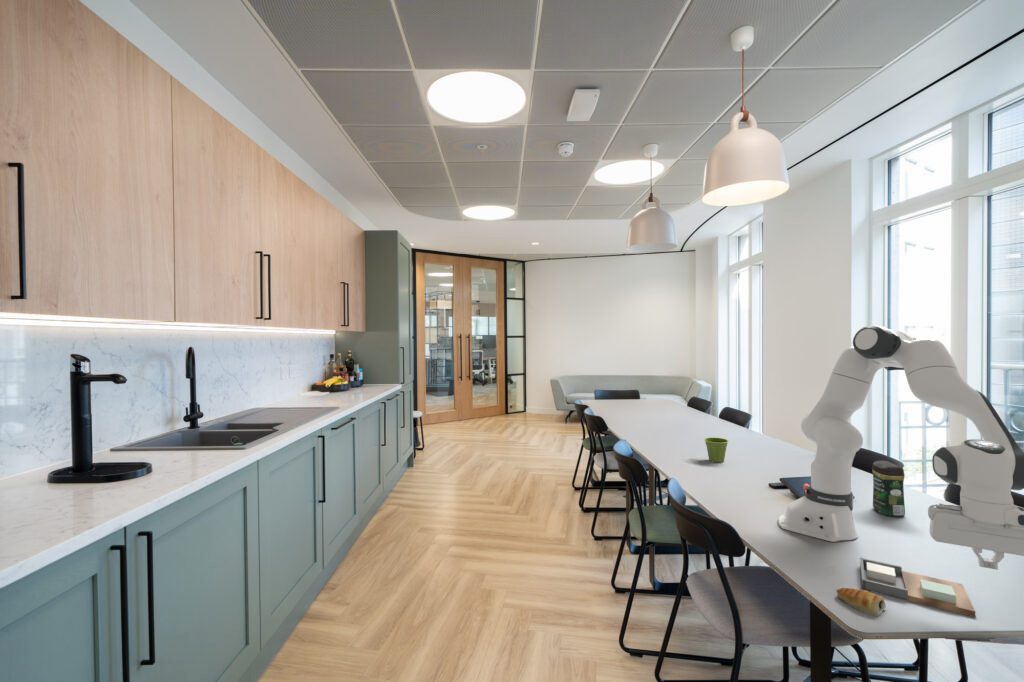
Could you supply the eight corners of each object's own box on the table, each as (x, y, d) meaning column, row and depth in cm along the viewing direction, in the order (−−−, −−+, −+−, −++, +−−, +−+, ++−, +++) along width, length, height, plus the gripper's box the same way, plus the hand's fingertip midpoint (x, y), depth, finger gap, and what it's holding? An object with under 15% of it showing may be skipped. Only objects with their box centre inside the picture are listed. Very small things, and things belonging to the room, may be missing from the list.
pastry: (832, 600, 114) (832, 585, 114) (842, 591, 118) (842, 577, 118) (878, 619, 106) (878, 603, 106) (887, 608, 110) (887, 593, 110)
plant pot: (701, 461, 237) (701, 440, 237) (708, 456, 246) (708, 436, 246) (725, 465, 229) (725, 443, 229) (731, 460, 238) (731, 439, 238)
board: (907, 600, 113) (907, 595, 113) (901, 575, 124) (901, 570, 124) (975, 616, 106) (975, 611, 106) (962, 588, 117) (962, 584, 117)
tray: (862, 589, 118) (862, 579, 118) (860, 566, 129) (860, 557, 129) (907, 600, 113) (907, 590, 113) (901, 575, 124) (901, 566, 124)
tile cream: (867, 576, 123) (867, 569, 123) (866, 568, 127) (866, 561, 127) (895, 583, 120) (895, 576, 120) (894, 575, 124) (894, 568, 124)
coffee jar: (868, 507, 172) (867, 458, 172) (892, 508, 171) (891, 459, 170) (884, 517, 163) (883, 465, 162) (909, 518, 161) (908, 466, 161)
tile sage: (922, 596, 112) (922, 588, 112) (919, 586, 116) (919, 579, 116) (956, 604, 109) (956, 595, 109) (952, 594, 113) (951, 586, 113)
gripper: (930, 506, 111) (932, 562, 111) (1055, 523, 99) (1057, 585, 99) (925, 498, 116) (926, 551, 116) (1043, 513, 105) (1045, 572, 105)
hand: (987, 567), depth 108 cm, fingers closed
